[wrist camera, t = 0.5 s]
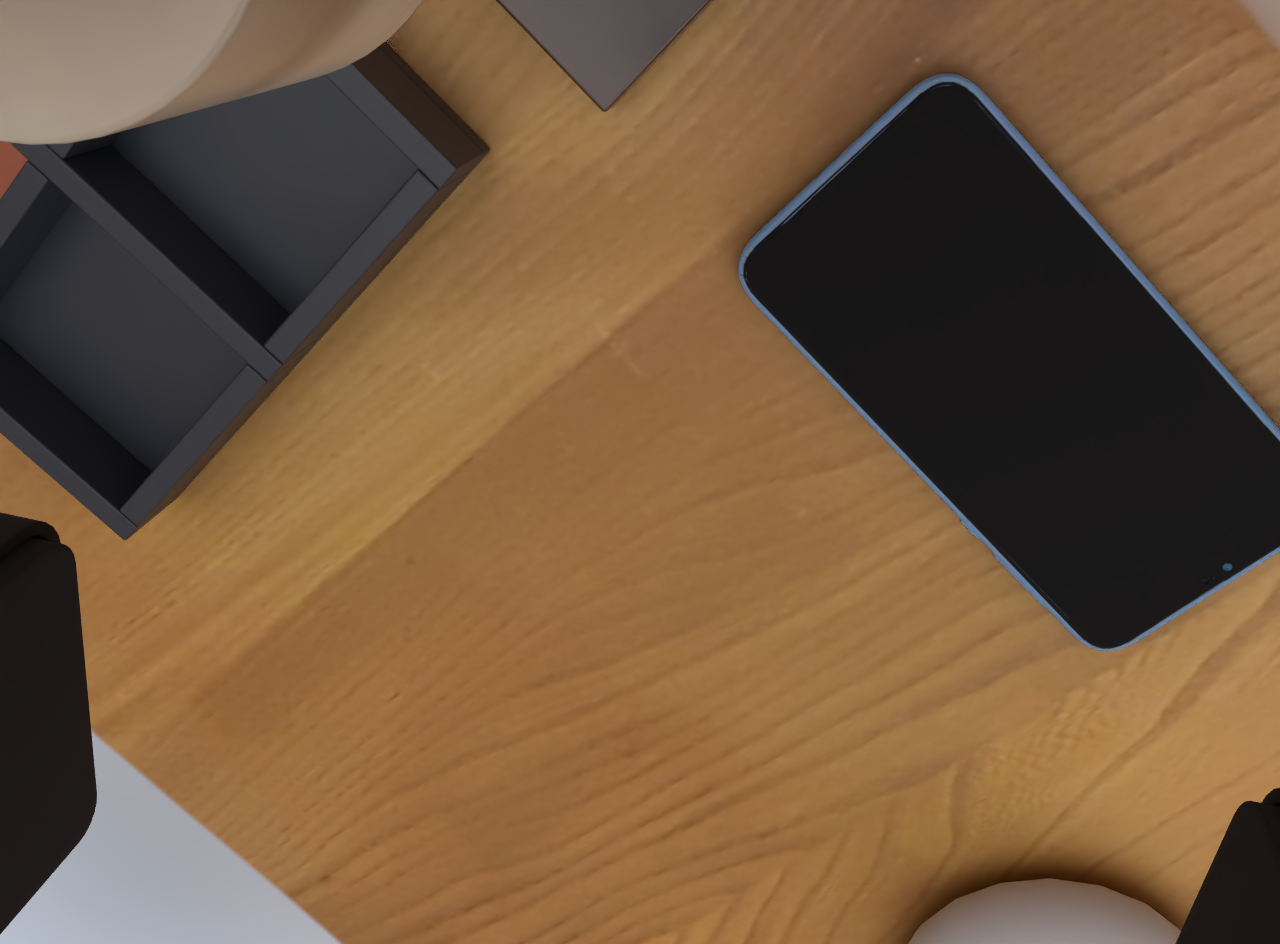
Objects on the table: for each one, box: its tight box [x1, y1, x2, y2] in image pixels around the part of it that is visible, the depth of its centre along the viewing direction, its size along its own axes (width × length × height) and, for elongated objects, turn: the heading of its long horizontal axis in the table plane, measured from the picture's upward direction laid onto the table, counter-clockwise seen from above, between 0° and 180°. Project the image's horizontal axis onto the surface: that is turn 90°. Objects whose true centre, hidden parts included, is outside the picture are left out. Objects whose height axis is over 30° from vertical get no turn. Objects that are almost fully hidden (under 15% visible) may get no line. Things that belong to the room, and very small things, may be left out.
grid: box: [0, 42, 490, 540], centre depth 31 cm, size 15×15×3 cm
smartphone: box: [738, 73, 1280, 651], centre depth 30 cm, size 7×1×15 cm
